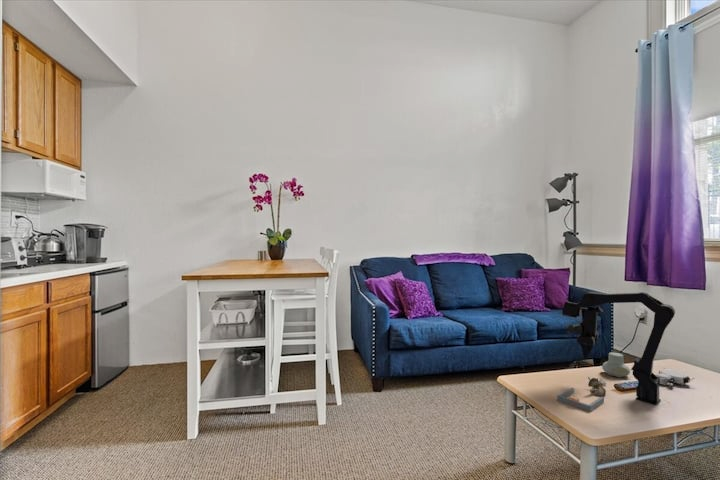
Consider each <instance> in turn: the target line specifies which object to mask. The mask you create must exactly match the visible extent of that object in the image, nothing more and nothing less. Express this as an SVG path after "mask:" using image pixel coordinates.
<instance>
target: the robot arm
mask: <svg viewBox="0 0 720 480" xmlns="http://www.w3.org/2000/svg"><path fill="white" fill-rule="evenodd" d="M617 303H619V304H620V303H621V304H622V303H623V304H625V303H641V304H642V305H644V306H645V307H646V308H648V309H649V310H650V311H652V312H653V313H654V316H653V318H654V319H653V326H652V329H651V332H650V335H649V337H648V340H647V342H646V345H645V348H644V350H643V353H642V355H641V358H639V357H635V359H634V361H633V364H632V365H633V366H632V367H631V369H630V371H632V376H633V377H634V379H635V380H637V381H638V382H637V385H636V387H635V389H636V392H635V395H636V400H638V401H642V402H646V403H648V404H652V405H657V404H659V403H660V402H661V398H660V386H659V385H658V384H659V383H658V380H659V378H657V377H656V376H655V375H656V374H655V373H653V370H654V368H653V367H654V360H655V356H656V354H657V351H658V349H659V346H660V344H661V341H662V338H663V336H664V333H665V330H666V328H668V326H669V324H670V323H671V322H672V320H673V318H674V317H675V314H676V311H675V308H674V306H672V305H670V304H668V303H663V302H662V301H660V300H659V299H657V298H655V297H653V296H652V295H650V294H649V293H648V292H645V291H641V292H623V293H622V292H621V293H620V292H619V293H604V292H597V291H588V292H586V293H584V294H583V295H582V297H581V300H580V301H579V302H577V303H576V302H570V301H568V300H566V301H564V304H563V306H562V311H561V312H562V313H561V314H562V316H563V317H568V318H571V319H572V318H573V319H578V318H579V317H581V321H580V322H579V323H578V324H577V323H576V324H569V325H566V326H565V329H566V332H567V334H568V335H572V334H579V335H578V336H577V337H576V343H577V344H578V345H579V346H580V347H581V351H582V356H583V359H588V357H589V355H590V353H591V351H592V350H593V348H594V346H595V344H596V342H597V340H598V339H599V334H600V333H599V331H598V330H597V326H598V313H600V314H601V313H603V312H604V310H603V309H602V308H601V307H600V305H604V304H617ZM585 306H587V307H585ZM594 306H597V307H594Z"/></svg>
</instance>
